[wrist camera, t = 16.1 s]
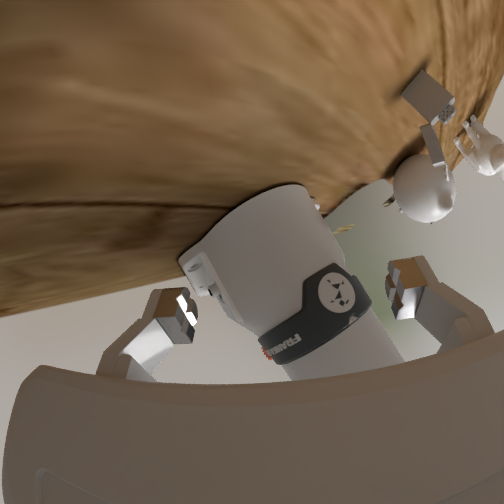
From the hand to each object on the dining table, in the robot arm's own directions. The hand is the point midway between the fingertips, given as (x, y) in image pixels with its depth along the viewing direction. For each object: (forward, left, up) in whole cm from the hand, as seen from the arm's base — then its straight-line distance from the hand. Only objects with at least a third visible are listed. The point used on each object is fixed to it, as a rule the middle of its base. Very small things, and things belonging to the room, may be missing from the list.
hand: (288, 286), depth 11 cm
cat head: (-14, -41, -10) cm, 45 cm away
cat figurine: (-5, -69, -10) cm, 70 cm away
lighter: (+2, -23, -10) cm, 25 cm away
